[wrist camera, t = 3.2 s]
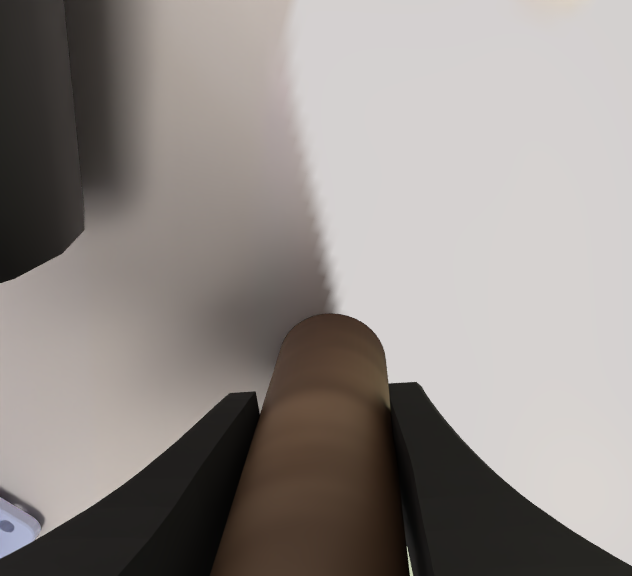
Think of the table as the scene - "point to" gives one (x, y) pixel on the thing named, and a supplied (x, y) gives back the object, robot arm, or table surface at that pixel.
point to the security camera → (36, 138)
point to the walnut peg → (320, 464)
